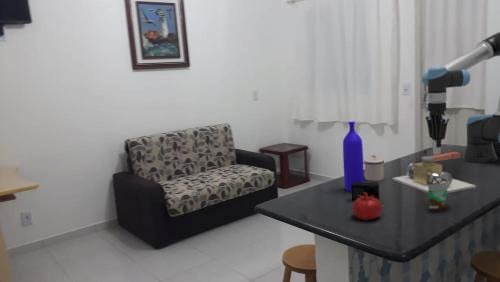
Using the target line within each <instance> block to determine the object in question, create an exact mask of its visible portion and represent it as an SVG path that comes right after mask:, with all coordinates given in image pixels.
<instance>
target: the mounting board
mask: <svg viewBox="0 0 500 282" xmlns="http://www.w3.org/2000/svg"><path fill="white" fill-rule="evenodd" d="M392 181H394V182H396V183H399V184H402V185H404V186H408V187H411V188H413V189H416V190H418V191H421V192H424V193H427V194H429V190H428V186H425V185H422V184H420V183H417V182H414V178H412V177H409V176H407V174H406V175H401V176H396V177H392ZM472 188H473V189H476V188H477V185H475V184H471V183H469V182H465V181H461V180H460V179H459V180H458V179H456V178H452V182H451V184H450V187H449V188H447V194H451V193H457V192H461V191H462V192H463V191H465V190H472Z"/></svg>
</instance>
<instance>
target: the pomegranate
mask: <svg viewBox="0 0 500 282" xmlns="http://www.w3.org/2000/svg"><path fill="white" fill-rule="evenodd" d="M359 196H360V197H359V198H358V199H356V200H355V201H353V204H352V209H351V210H352V213H353V215H354V216H355V217H356V219H359V220H362V221H370V220H374V219H376V218H378V217H380V215H381V213H382V211H383V210H382V209H383V207H382V204H381V202H380V199H379V200H378V199H376V198H374V197H372V196H370V197H367V193H366V192H364V197H363V196H361V195H359Z"/></svg>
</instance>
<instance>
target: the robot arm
mask: <svg viewBox="0 0 500 282" xmlns="http://www.w3.org/2000/svg"><path fill="white" fill-rule="evenodd" d="M499 56H500V31H499V32H496V33H495V34H492V35H490V36H489V37H486V38H485V39H483V40H481V41H480V42H478V43H477V44H476V46H474V47H473V48H471V49H470V50H468V51H466V52H465V53H463V54H461V55H459V56H457V57H456V58H454V59H453V60H450V61H449V62H447V63H445V64H443V65H442V66H439V67H438V66H437V67H430V68H428V69H427V71H425V72H424V73H423V74H422V76H421V82H422V84H423V85H424V86H426V87H427V102H428V103H427V111H428V112H429V115H428V116H426V117H425V120H426V123H427V124H426V125H427V129H428V130H427V131H428V136H429V138H431V139H432V147H433V148H432V149H433V150H432V151H433V152H432V154H433V155H440V154H441V152H442V151H441V149H442V148H441V147H442V140H445V138H446V133H447V127H448V124H449V121H450V118H446V114H445V112H446V111H447V89H449V88H457V87H459V88H461V87H465V86H467V85H468V84H469V83H470V81H471V73H470V72H469V69H471V68H472V67H474V66H477V65H478V64H480V63H481V62H483V61H485V60H487V61H488V60H491V59H492V58H495V57H499ZM494 143H496V144H497V143H498V144H500V97H499V99H498V104H497V109H496V111H495V112H494V113H492V114H483V115H482V114H481V115H472V116H469V117H468V118H467V122H466V147H465V149H464V152H463V154H462V160H464V161H466V162H468V163H478V164H479V163H480V164H481V163H482V164H484V163H493V162H496V161H497V160H498V157H497V156H498V155H497V154H496V151H495V148H494Z"/></svg>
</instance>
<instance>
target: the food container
mask: <svg viewBox="0 0 500 282" xmlns="http://www.w3.org/2000/svg"><path fill="white" fill-rule="evenodd" d="M449 187H450V185H449V182H448V180H447V179H446V178H443V177H438V176H433V180H432V181H431V184H429V186H428V190H429V193H428V211H441V210H445V209H446V208H447V200H448V198H447V197H448V193H447V188H449Z"/></svg>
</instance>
